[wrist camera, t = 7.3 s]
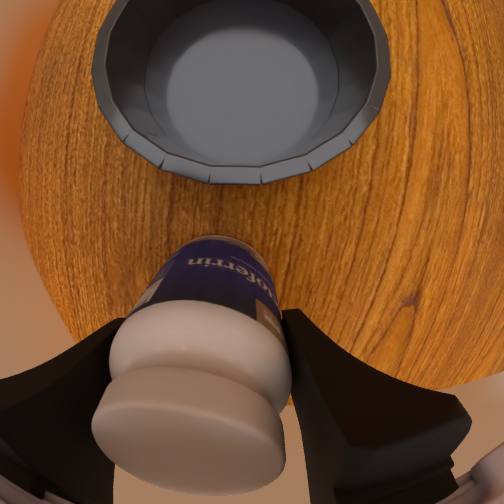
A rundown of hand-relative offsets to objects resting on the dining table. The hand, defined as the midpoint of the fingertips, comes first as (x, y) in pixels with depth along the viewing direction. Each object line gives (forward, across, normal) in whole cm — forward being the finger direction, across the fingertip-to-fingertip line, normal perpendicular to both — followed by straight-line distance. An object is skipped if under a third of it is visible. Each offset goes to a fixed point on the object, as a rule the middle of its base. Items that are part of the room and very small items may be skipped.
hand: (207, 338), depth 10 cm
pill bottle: (+5, 0, 0) cm, 5 cm away
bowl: (+4, -2, -10) cm, 12 cm away
